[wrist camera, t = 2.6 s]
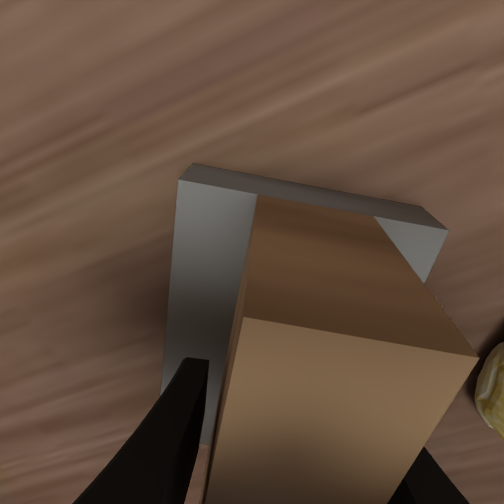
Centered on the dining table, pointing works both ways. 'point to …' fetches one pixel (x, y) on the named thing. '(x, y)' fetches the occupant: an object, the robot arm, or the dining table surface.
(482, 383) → the bread roll
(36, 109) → the dining table surface
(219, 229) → the scraper
